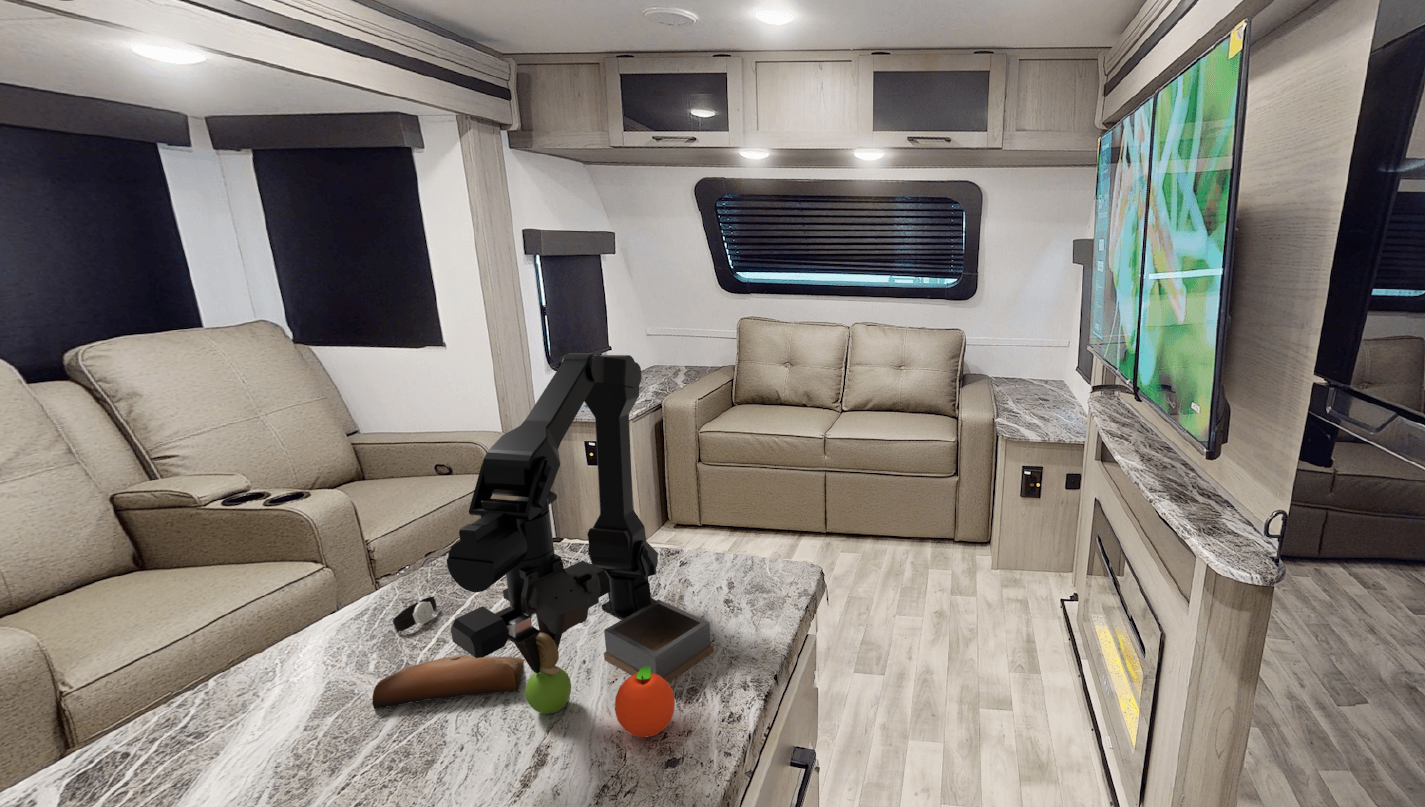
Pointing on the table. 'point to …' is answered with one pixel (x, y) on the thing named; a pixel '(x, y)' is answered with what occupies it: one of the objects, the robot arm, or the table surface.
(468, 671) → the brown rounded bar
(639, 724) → the clementine
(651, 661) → the grey planter box
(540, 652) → the snail figurine
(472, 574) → the robot arm
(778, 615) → the table surface
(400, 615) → the watch
